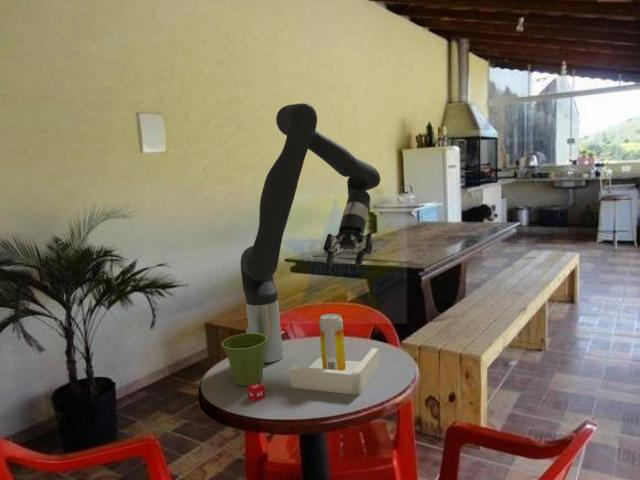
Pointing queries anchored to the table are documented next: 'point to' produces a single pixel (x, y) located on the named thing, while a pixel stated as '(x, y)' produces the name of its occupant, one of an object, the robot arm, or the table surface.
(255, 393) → the dice
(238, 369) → the plant pot
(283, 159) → the robot arm
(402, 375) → the table surface
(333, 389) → the white corner tray
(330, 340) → the beer can
